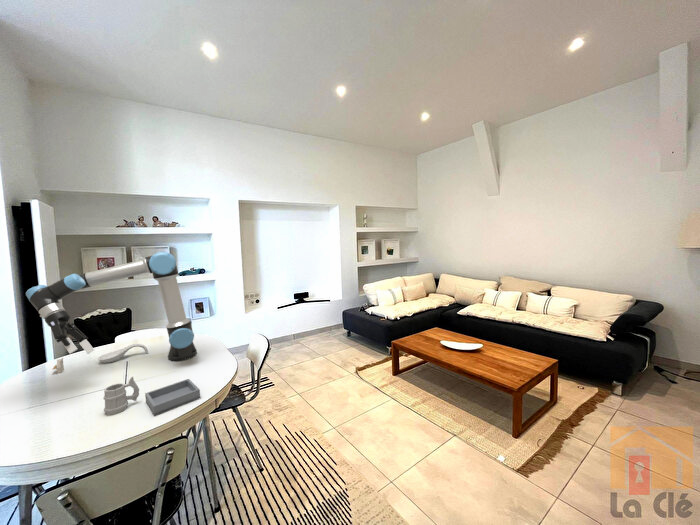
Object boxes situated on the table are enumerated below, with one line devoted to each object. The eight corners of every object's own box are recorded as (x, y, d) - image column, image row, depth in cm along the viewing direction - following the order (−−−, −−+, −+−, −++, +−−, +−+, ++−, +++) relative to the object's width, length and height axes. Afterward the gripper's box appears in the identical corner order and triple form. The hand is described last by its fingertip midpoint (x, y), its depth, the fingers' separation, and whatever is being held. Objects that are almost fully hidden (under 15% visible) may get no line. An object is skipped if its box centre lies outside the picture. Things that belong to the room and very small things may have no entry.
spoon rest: (97, 367, 159) (96, 354, 159) (99, 360, 169) (98, 349, 168) (148, 355, 174) (147, 344, 174) (147, 350, 183) (146, 339, 183)
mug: (102, 410, 115) (100, 382, 115) (138, 398, 124) (135, 372, 123) (105, 418, 110) (102, 388, 109) (142, 404, 119) (139, 377, 118)
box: (189, 386, 133) (188, 378, 133) (200, 398, 123) (199, 389, 122) (145, 402, 121) (145, 393, 121) (154, 416, 110) (153, 406, 110)
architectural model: (53, 376, 150) (51, 362, 150) (55, 371, 156) (54, 358, 155) (62, 374, 152) (60, 360, 152) (64, 369, 158) (63, 356, 157)
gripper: (63, 323, 137) (88, 357, 136) (24, 317, 115) (55, 357, 114) (80, 313, 140) (105, 346, 139) (46, 305, 118) (75, 344, 117)
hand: (82, 351), depth 126 cm, fingers open, 13 cm apart
